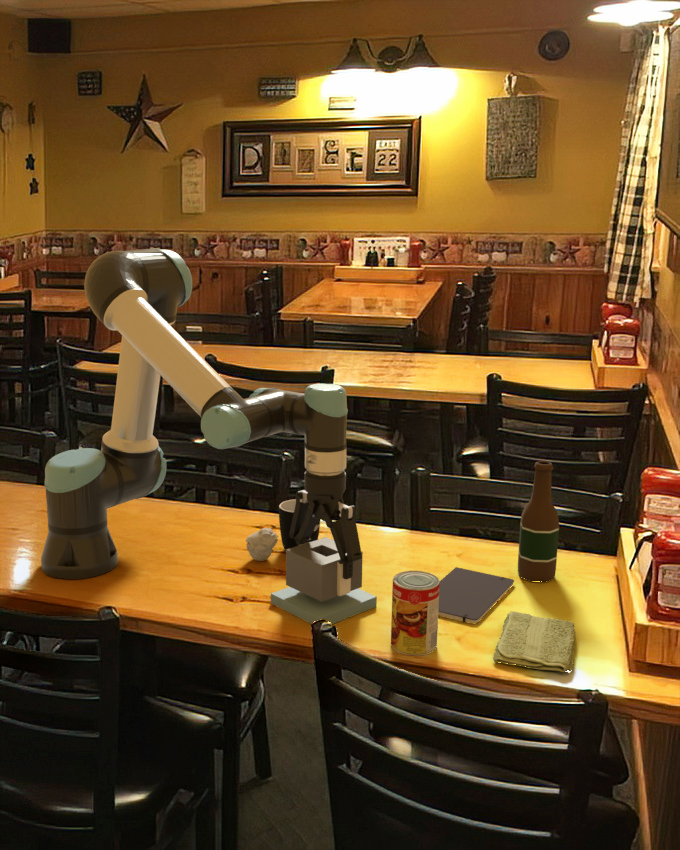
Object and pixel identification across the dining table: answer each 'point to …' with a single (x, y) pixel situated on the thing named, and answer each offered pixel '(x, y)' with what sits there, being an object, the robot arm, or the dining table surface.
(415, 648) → the canned food
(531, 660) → the washcloth
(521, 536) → the beer bottle
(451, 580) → the notebook
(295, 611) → the base
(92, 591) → the dining table surface
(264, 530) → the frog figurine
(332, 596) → the slotted gray box
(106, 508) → the robot arm
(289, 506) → the mug
